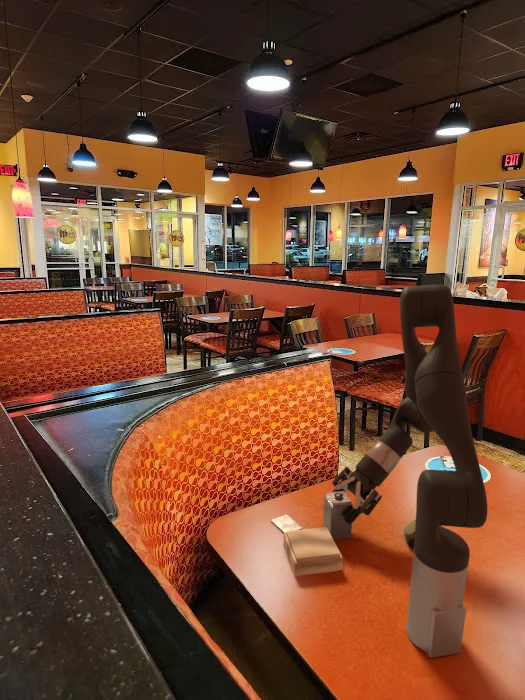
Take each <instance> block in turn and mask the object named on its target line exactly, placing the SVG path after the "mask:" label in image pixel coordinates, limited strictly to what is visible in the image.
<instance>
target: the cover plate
mask: <svg viewBox="0 0 525 700" xmlns="http://www.w3.org/2000/svg"><path fill="white" fill-rule="evenodd" d="M270 522H271V523H272V524H273V525H274V526H275V527H276V528H277V529H278V530H280V531H281V533H283V534H284V533H286V531H293V530H302V529H303V527H302V526H300V525H299V524H298V523H297V522H296V521H295V520H294V519H293V518H292V517H290V516H289V515H288V514H284V515H282V516H278V517H275V518H273V519H270Z"/></svg>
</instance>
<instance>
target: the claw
mask: <svg viewBox="0 0 525 700" xmlns="http://www.w3.org/2000/svg"><path fill="white" fill-rule="evenodd" d="M415 523H416V519H414V520H412V521H410V522H409V523H407V524H406V526H405V528H404V531H403V536H404V538H405V541H406V544H407V546H408V547H410V548H414V542H415Z"/></svg>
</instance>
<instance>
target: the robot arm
mask: <svg viewBox="0 0 525 700" xmlns="http://www.w3.org/2000/svg"><path fill="white" fill-rule="evenodd" d="M399 316H400V317H399V318H400V330H401V331H400V332H401V339H402V340H401V341H402V350H403V356H404V365H405V366H404V367H405V368H404V369H405V373H404V374H405V375H404V392H405V395H406V396H407V397H406V398H404V399H402V400H401V401H400V403H399V405H398V406H397V408H396V411H395V413H394V415H393V418H392V420H391V422H390V424H389V425H388V428H387V429H386V430H385V432H384V433H383V434H382V436H381V437H380V438H379V439H378V440H377V441H376V442H375V443H374V444H373V445H372V446H371V447H370V448H369V450H368V451H366V453H365V454H364V455H363V456H362V458H361V459H360V460H359V462H358V463H356V465H355V470H354V471H353V470H351V469H350V467H348V466H345V467H344V468H343V470H341V471H340V473H339V474H337V476H336V477H335V478H334V479H333V480H332V482H331V484H332V485H333V490H332V492H341V491H345V493H351V494H353V495H354V500H355V501H354V505H353V508H352V509H351V510H350V511H349V513H348V514H347V515H346V516H345V517H344V520H345V521H346V522H347V523H348V524H351V523H352V524H353V523H354V522H355V521H356V520H357V518H358V517H359V516H360V515H362V514H363V515H366V516H369V515H370V514H371V513H372V512H373V510H374V509H375V508H376V506H377V505H378V504H379V502H380V501H381V499H382V497H383V496H382V495H381V493H379V491H377V490H376V488H377V487H380V486H381V485H382V484H383V483H384V481H386V479H387V478H388V476H389V475H390V474H391V473H392V471H393V470H394V469H395V468H396V467H397V465H398V463H399V462H400V460H401V459H402V458H403V457H404V456H405V454H406V453H407V452H408V450H409V449H411V447H412V446H413V442H414V441H413V438H412V436H411V435H410V434H409V433H408V432H407V431H406V428H407V425H409V426H411V427H412V428H414V429H416V430H417V431H419V432H421V433H425V434H429V433H431V432H435V434H436V435H437V436H438V438H439V439H440V440H441V441H442V442H443V444H444V446H445V447H446V449H447V450H448V453H449V454H450V457H451V459H452V462H453V465H454V469H455V470H444V469H443V470H442V469H441V470H440V469H425V470H423V471H421V472H420V475H419V477H418V480H417V485H416V507H415V509H416V513H415V520H416V523H415V542H414V547H413V553H412V564H411V565H412V566H411V572H410V573H411V574H410V584H409V593H408V594H409V595H408V605H407V613H406V614H407V617H406V626H405V629H406V634H407V637H408V638H409V640H410V642H412V644H413V645H414V646H415V647H417V648H418V649H419V650H422V652H424V653H425V654H426V655H427V657H429V658H430V659H432V658H433V659H435V658H440V657H445V656H452V655H456V654H461V652H462V645H463V637H464V630H465V623H466V622H465V621H466V616H467V615H466V613H467V608H466V607H465V606H464V601H465V594H466V593H465V592H466V584H467V580H468V579H467V577H468V570H469V562H470V556H471V555H470V553H471V552H470V547H469V545H468V543H467V541H466V540H465V539H464V538H463V537H462V536H461V535H459V534H458V533H456V532H455V531H453V530H451V529H448V528H446V527H454V528H456V527H457V528H469V529H470V528H471V529H478V528H481V527H483V526H484V525H485V524H486V522H487V518H488V517H487V516H488V498H487V492H486V488H485V487H486V486H485V483H484V478H483V474H482V471H481V466H480V462H479V458H478V454H477V451H476V446H475V443H474V438H473V433H472V427H471V419H470V413H469V406H468V404H469V403H468V396H467V389H466V383H465V377H464V374H463V369H462V363H461V357H460V354H459V346H458V337H457V329H456V328H457V327H456V317H455V316H456V315H455V305H454V298H453V294H452V291H451V289H450V287H449V286H447V285H446V284H428V285H427V284H425V285H413V286H406V287H404V288H403V289H402V290H401V293H400V297H399ZM422 327H423V328H424V327H425V328H426V327H437V328H438V334H437V335H436V337H435V340H434V342H433V344H432V346H431V347H430V349H429V350H428V352H427V351H426V349H424V347H423V345H422V344H421V342H420V341H419V338H418V337H417V334H416V328H422Z"/></svg>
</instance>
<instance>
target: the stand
mask: <svg viewBox="0 0 525 700" xmlns="http://www.w3.org/2000/svg"><path fill="white" fill-rule="evenodd" d="M283 547H284V549H285V553H286V555H287V559H288V561H289V564H290V566H291V569H292V573H293V575H294V577H300V576H308V575H315V574H323V573H331V572H339V571H340V570H341V571H343V565H344V564H343V563H344V561H343V560H344V558H343V555H342V553H341V551H340V550H339V548H338V546H337V544H336V542H335V540H333V538H332V536H331V534H330V533H329V531H328V529H327V528H326V527H323V526H322V527H313V528H302V530H293V531H286V533H283ZM341 571H340V572H341Z"/></svg>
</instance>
